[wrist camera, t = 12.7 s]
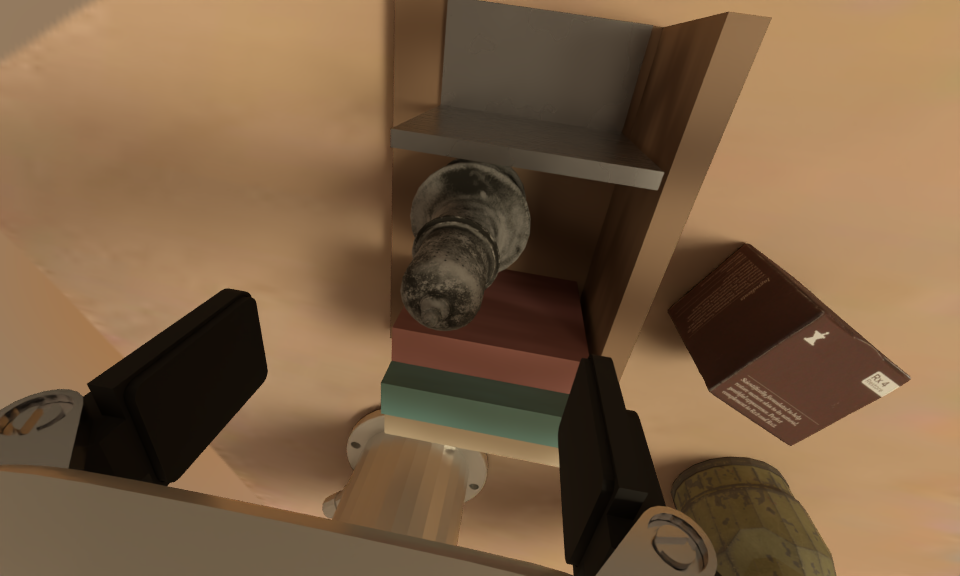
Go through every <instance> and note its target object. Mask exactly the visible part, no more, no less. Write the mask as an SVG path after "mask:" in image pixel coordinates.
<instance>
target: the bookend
mask: <svg viewBox="0 0 960 576" xmlns="http://www.w3.org/2000/svg"><path fill="white" fill-rule="evenodd" d="M652 28H653V25H647V24H640V23H633V22H626V21H619V20H612V19H605V18H598V17H591V16H584V15H577V14H570V13H563V12H556V11H549V10H542V9H535V8H528V7H521V6H514V5H507V4H500V3H493V2H486V1H479V0H448V5H447V19H446V34H445V48H444V63H443V77H442V91H441V105H439V106H437V107H435V108H433V109H431V110H428V111H426V112H424V113H422V114H420V115H418V116H416V117H414V118H412V119H410V120H407V121H405V122H403V123H401V124H399V125H397V126H395V127H393V128H391V147H392V148H398V149H405V150H411V151H417V152H423V153H429V154H436V155H442V156H448V157H454V158H460V159H466V160H473V161H479V162H485V163H491V164H497V165H503V166H510V167H516V168H522V169H528V170H534V171H541V172H547V173H553V174H559V175H565V176H571V177H578V178H584V179H590V180H596V181H602V182H608V183H615V184H621V185H627V186H633V187H639V188H646V189H652V190H658V188H659V186H660V183H661V180H662V177H663V175H664V171H663V170H661V169H660V168H659V167H658V166H657V165H656V164H655V163H654V162H653V161H652V160H651V159H650V158H648V157H647V156H646V155H645V154H644V153H643V152H642V151H641V150H640V149H639V148H638V147H637V146H635V145H634V144H633V143H632V142H631V141H630V140H629V139H628V138H627V137H626V136H625V135H623V134H622V130H623V127H624V124H625V120H626V117H627V113H628V110H629V107H630V103H631V100H632V96H633V93H634V90H635V86H636V83H637V79H638V76H639V73H640V69H641V66H642V62H643V59H644V56H645V52H646V49H647V45H648V42H649V39H650V35H651V32H652Z"/></svg>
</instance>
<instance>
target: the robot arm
mask: <svg viewBox="0 0 960 576" xmlns="http://www.w3.org/2000/svg"><path fill="white" fill-rule="evenodd" d="M267 372H268V369H267V363H266V357H265V351H264V345H263V340H262V334H261V328H260V322H259V316H258V310H257V304H256V301H255V299H253V298H252V297H251V295H250V294H249V293H248V292H245V291H240V290H234V289H224V290H222V291H220V292H219V293H217V294H216V295H214V296H213V297H212V298H210V299H209V300H207V301H206V302H204V303H203V304H201V305H200V306H199V307H197V308H196V309H194V310H193V311H191V312H190V313H188V314H187V315H186V316H184V317H183V318H181V319H180V320H178V321H177V322H175V323H174V324H173V325H171V326H170V327H168V328H167V329H165V330H164V331H163V332H161V333H160V334H158V335H157V336H155V337H154V338H152V339H151V340H150V341H148V342H147V343H145V344H144V345H142V346H141V347H139V348H138V349H137V350H135V351H134V352H132V353H131V354H129V355H128V356H126V357H125V358H124V359H122V360H121V361H119V362H118V363H116V364H115V365H113V366H112V367H111V368H109V369H108V370H106V371H105V372H103V373H102V374H101V375H99V376H98V377H96V378H95V379H93V380H92V381H91V382H89V383H88V384H87V385H88V387H89V389H90V391H91V392H89V393H88V394H87V395H85V396H84V397H83V396H82V395H80V393H78V392H76V391H73V390H69V389H68V390H67V389H57V390H50V391H44V392H40V393H37V394H33V395H30V396H28V397H25V398H23V399H20V400H18V401H15V402H13V403H12V404H10V405H8V406H7V407H5V408H3V409H1V410H0V576H573V575H570V574H568V573H565V572H561V571H558V570H554V569H551V568H547V567H544V566H540V565H537V564H533V563H530V562H525V561H521V560H517V559H512V558H508V557H503V556H499V555H495V554H490V553H486V552H482V551H477V550H473V549H469V548H464V547H460V546H457V542H458V536H459V531H460V525H461V519H462V513H463V507H464V503H465V502H467V501H469V500H471V499H472V498H473V497H475V496H476V495H477V494H478V493H479V492H480V491H481V490H482V488H483V487H484V484H485V482H486V479H487V471H488V460H487V455H486V453H483V452H478V451H473V450H468V449H463V448H458V447H453V446H447V445H442V444H437V443H432V442H427V441H422V440H417V439H412V438H407V437H402V436H397V435H392V434H386V433H384V429H385V414H381V409H380V410H377V411H374V412H372V413H370V414H368V415H366V416H365V417H363V418H362V419H361V420H359V422H358V423H357V424H356V425H355V427H354V428H353V430H352V432H351V434H350V436H349V438H348V442H347V447H346V450H347V457H348V460H349V463H350V465H351V467H352V469H353V470H354V471H353V473H352V476H351V478H350V480H349V482H348V484H347V485H346V486H345V487H344V489H343V490H342V491H339V492H336V493H334V494H332V495H330V496H328V497H327V498H326V499H325V500H324V502H323V509H322V510H323V512H324V515H325V516H326V517H327V518H332V520H331V519H326V518H321V517H316V516H312V515H307V514H302V513H297V512H292V511H287V510H282V509H277V508H272V507H268V506H263V505H257V504H253V503H248V502H243V501H238V500H233V499H228V498H223V497H218V496H213V495H208V494H203V493H198V492H193V491H188V490H183V489H178V488H172V487H168V484H169V483H171V482H175V481H176V480H178V479H179V478H180V477H181V476H182V475H183V474H184V472H185V471H186V470H187V469H188V468H189V467H190V466H191V464H192V463H193V462H194V461H195V460H196V459H197V458H198V456H199V455H200V454H201V453H202V452H203V451H204V450H205V449H206V447H207V446H208V445H209V444H210V443H211V442H212V441H213V439H214V438H215V437H216V436H217V435H218V434H219V433H220V431H221V430H222V429H223V428H224V427H225V426H226V425H227V423H228V422H229V421H230V420H231V419H232V418H233V417H234V416H235V414H236V413H237V412H238V411H239V410H240V409H241V408H242V406H243V405H244V404H245V403H246V402H247V401H248V400H249V398H250V397H251V396H252V395H253V394H254V393H255V392H256V390H257V389H258V388H259V387H260V386H261V385H262V384H263V382H264V381H265V379H266V377H267ZM558 451H559V467H560V483H561V500H562V516H563V533H564V549H565V560H566V563H567V564H571V565H573V573H574V576H722V575H721V574H720V573H719V572H718V571H716V569H717V557H716V552H715V549H714V547H713V545H712V543H711V541H710V539H709V538H708V536H707V535H706V533H705V532H704V531H703V529H702V528H701V527H700V526H699V525H698V524H697V523H696V522H695V521H693V520H692V519H691V518H690V517H688V516H687V515H685V514H684V513H682V512H680V511H678V510H675V509H673V508H670V507H666V505H665V502H664V499H663V495H662V492H661V489H660V485H659V482H658V479H657V475H656V472H655V469H654V465H653V462H652V459H651V455H650V452H649V449H648V445H647V442H646V439H645V435H644V432H643V429H642V425H641V422H640V419H639V416H638V414H637V413H636V412H635V411H631V410H626V408H625V404H624V400H623V397H622V393H621V389H620V385H619V382H618V378H617V374H616V371H615V367H614V363H613V360H612V358H611V357H605V356H600V355H594V354H590V355H589V356H588V359H587V358H582V359H581V361H580V363H579V366H578V369H577V372H576V376H575V379H574V382H573V385H572V388H571V391H570V394H569V397H568V400H567V403H566V406H565V409H564V412H563V415H562V418H561V422H560V425H559V429H558Z"/></svg>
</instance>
